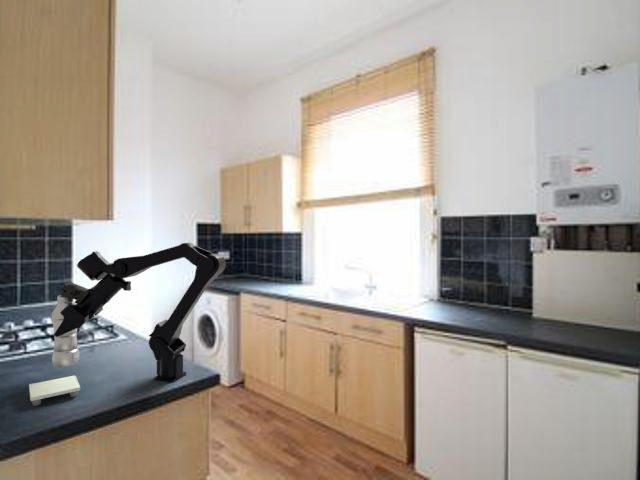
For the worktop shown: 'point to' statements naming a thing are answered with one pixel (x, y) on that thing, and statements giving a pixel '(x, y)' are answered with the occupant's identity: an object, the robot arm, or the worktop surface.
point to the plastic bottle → (64, 338)
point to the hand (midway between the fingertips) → (59, 332)
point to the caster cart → (53, 388)
